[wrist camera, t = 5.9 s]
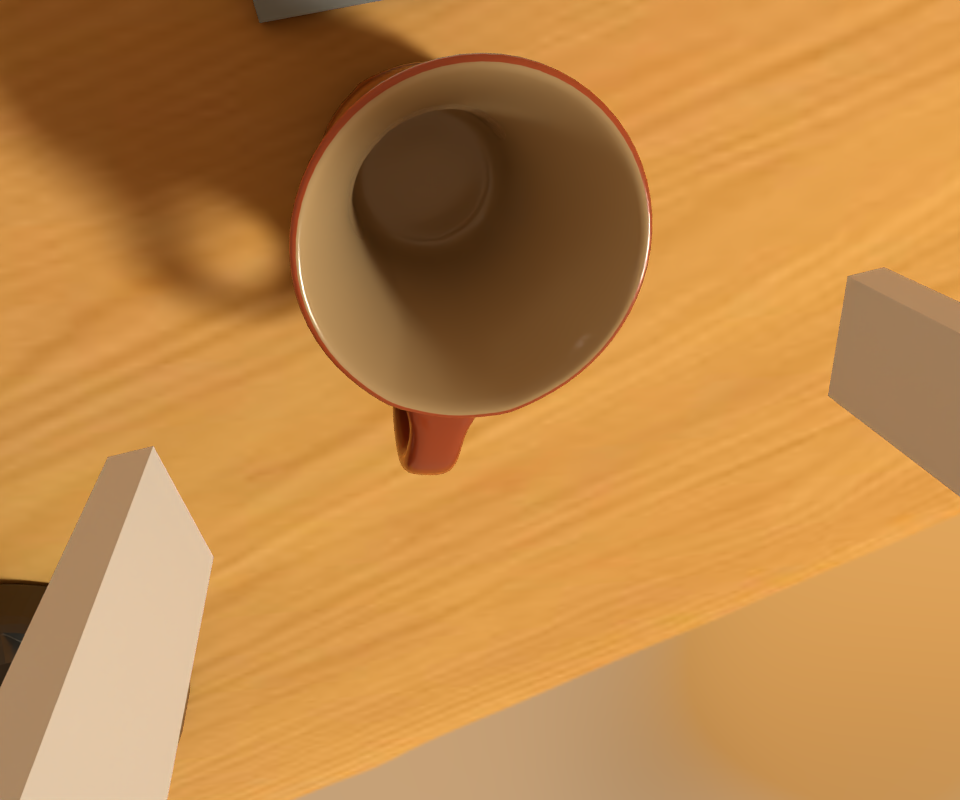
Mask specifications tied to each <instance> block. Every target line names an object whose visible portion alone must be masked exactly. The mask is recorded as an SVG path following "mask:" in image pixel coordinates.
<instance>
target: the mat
mask: <svg viewBox="0 0 960 800" xmlns="http://www.w3.org/2000/svg"><path fill="white" fill-rule="evenodd" d="M375 1H381V0H253V2H254V6H255V9H256V13H257V16H258V19H259V23H263V22H268V21H273V20H279V19H284V18H289V17H295V16H300V15H306V14H311V13H316V12H322V11H327V10H332V9H338V8H343V7H348V6H354V5H359V4H365V3H370V2H375Z"/></svg>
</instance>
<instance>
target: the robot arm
mask: <svg viewBox="0 0 960 800" xmlns="http://www.w3.org/2000/svg"><path fill="white" fill-rule="evenodd" d="M828 396H829V397H830V398H832V399H833V400H834V401H836V402H837V403H838V404H839V405H841V406H842V407H843V408H845V409H846V410H847V411H849V412H850V413H851V414H853V415H854V416H855V417H856V418H858V419H859V420H860V421H862V422H863V423H864V424H866V425H867V426H868V427H870V428H871V429H872V430H873V431H875V432H876V433H877V434H879V435H880V436H881V437H883V438H884V439H885V440H887V441H888V442H889V443H890V444H892V445H893V446H894V447H896V448H897V449H898V450H900V451H901V452H902V453H904V454H905V455H906V456H907V457H909V458H910V459H911V460H913V461H914V462H915V463H917V464H918V465H919V466H921V467H922V468H923V469H924V470H926V471H927V472H928V473H930V474H931V475H932V476H934V477H935V478H936V479H938V480H939V481H940V482H941V483H943V484H944V485H945V486H947V487H948V488H949V489H951V490H952V491H953V492H954V493H956V494H957V495H958V496H960V302H958V301H956V300H954V299H952V298H949V297H947V296H945V295H943V294H941V293H939V292H936V291H934V290H932V289H930V288H928V287H926V286H923V285H921V284H919V283H917V282H915V281H913V280H910V279H908V278H906V277H904V276H902V275H900V274H897V273H895V272H893V271H891V270H889V269H887V268H884V267H883V268H879V269H875V270H871V271H867V272H863V273H859V274H855V275H851V276H848V278H847V284H846V290H845V296H844V302H843V308H842V314H841V320H840V326H839V332H838V338H837V344H836V351H835V357H834V363H833V369H832V375H831V381H830V387H829V393H828ZM212 563H213V555H212V553H211V552H210V550H209V548H208V546H207V544H206V542H205V540H204V539H203V537H202V535H201V533H200V531H199V529H198V528H197V526H196V524H195V522H194V520H193V518H192V517H191V515H190V513H189V511H188V509H187V507H186V505H185V504H184V502H183V500H182V498H181V496H180V494H179V493H178V491H177V489H176V487H175V485H174V483H173V481H172V480H171V478H170V476H169V474H168V472H167V470H166V469H165V467H164V465H163V463H162V461H161V459H160V457H159V456H158V454H157V452H156V450H155V448H154V446H151V447H147V448H143V449H139V450H135V451H131V452H127V453H123V454H119V455H115V456H111V457H108V458H107V460H106V463H105V465H104V467H103V469H102V471H101V473H100V475H99V477H98V480H97V482H96V484H95V486H94V488H93V490H92V492H91V495H90V497H89V499H88V501H87V503H86V505H85V507H84V510H83V512H82V514H81V516H80V518H79V520H78V522H77V524H76V527H75V529H74V531H73V533H72V535H71V537H70V539H69V542H68V544H67V546H66V548H65V550H64V552H63V554H62V557H61V559H60V561H59V563H58V565H57V567H56V569H55V571H54V574H53V576H52V578H51V580H50V582H49V584H48V586H37V585H23V584H0V800H167V797H168V792H169V787H170V782H171V777H172V771H173V766H174V761H175V756H176V750H177V745H178V743H179V740H180V737H181V734H182V731H183V726H184V720H185V715H186V709H187V704H188V698H189V693H190V677H191V672H192V667H193V662H194V656H195V651H196V646H197V641H198V636H199V630H200V625H201V620H202V615H203V610H204V604H205V599H206V594H207V589H208V583H209V578H210V573H211V568H212Z"/></svg>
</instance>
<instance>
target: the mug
mask: <svg viewBox="0 0 960 800" xmlns="http://www.w3.org/2000/svg"><path fill="white" fill-rule="evenodd" d="M651 240H652V208H651V198H650V193H649V187H648V182H647V179H646V175H645V172H644V169H643V165H642V163H641V160H640V158H639V155H638V153H637V151H636V148H635V146H634V145H633V143H632V141H631V139H630V137H629V135H628V134H627V132H626V131H625V129H624V128H623V126H622V125H621V123H620V122H619V121H618V119H617V118H616V116H615V115H614V114H613V113H612V112H611V111H610V110H609V109H608V107H607V106H606V105H605V104H604V103H603V102H602V101H601V100H600V99H599V98H598V97H597V96H595V95H594V94H593V93H592V92H591V91H590V90H589V89H587V88H586V87H584V86H583V85H582V84H580V83H579V82H577V81H576V80H575V79H573V78H571V77H569V76H568V75H566V74H564V73H562V72H560V71H559V70H556V69H554V68H552V67H549V66H547V65H544V64H542V63H539V62H536V61H532V60H529V59H525V58H522V57H517V56H511V55H504V54H492V53H472V54H459V55H453V56H448V57H442V58H438V59H434V60H431V61H425V62H413V63H407V64H402V65H399V66H396V67H392V68H390V69H387V70H385V71H382V72H380V73H378V74H376V75H374V76H372V77H370V78H368V79H366V80H364V81H363V82H361V83H360V84H359V85H358V86H357V87H356V88H355V90H354V91H353V92H352V93H351V94H350V95H349V96H348V97H347V98H346V99H345V100H344V101H343V103H342V104H341V105H340V107H339V108H338V109H337V111H336V112H335V114H334V116H333V117H332V119H331V121H330V123H329V125H328V127H327V129H326V131H325V134H324V137H323V140H322V141H321V142H320V144H319V146H318V147H317V149H316V151H315V153H314V154H313V156H312V158H311V159H310V161H309V164H308V166H307V168H306V170H305V173H304V175H303V177H302V179H301V183H300V186H299V189H298V192H297V195H296V198H295V202H294V207H293V212H292V216H291V224H290V233H289V259H290V269H291V276H292V281H293V286H294V291H295V294H296V297H297V301H298V304H299V307H300V310H301V312H302V314H303V316H304V319H305V321H306V323H307V325H308V327H309V329H310V331H311V332H312V334H313V336H314V338H315V339H316V341H317V343H318V344H319V345H320V347H321V348H322V350H323V351H324V352H325V354H326V355H327V356H328V357H329V358H330V360H331V361H332V362H333V363H334V364H335V365H336V366H337V367H338V368H339V369H340V370H341V371H342V372H343V373H344V374H345V375H346V376H347V377H348V378H349V379H351V380H352V381H353V382H354V383H356V384H357V385H358V386H359V387H361V388H362V389H364V390H365V391H366V392H368V393H369V394H371V395H372V396H374V397H375V398H377V399H379V400H380V401H382V402H384V403H386V404H388V405H390V406H393V420H394V431H395V439H396V446H397V452H398V456H399V461H400V463H401V465H402V467H403V468H404V469H405V470H406V471H408V472H409V473H413V474H419V475H439V474H443V473H446V472H448V471H450V470H451V469H452V468H453V466H454V465H455V464H456V462H457V459H458V457H459V454H460V451H461V447H462V444H463V441H464V438H465V435H466V433H467V430H468V429H469V427H470V425H471V423H472V422H473V420H474V418H475V417H484V416H493V415H500V414H504V413H508V412H512V411H515V410H517V409H520V408H522V407H524V406H527V405H529V404H531V403H533V402H535V401H537V400H539V399H541V398H543V397H545V396H547V395H548V394H550V393H552V392H554V391H555V390H557V389H559V388H560V387H562V386H563V385H565V384H566V383H568V382H569V381H570V380H572V379H573V378H575V377H576V376H577V375H579V374H580V373H581V372H582V371H583V370H584V369H585V368H587V367H588V366H589V365H590V364H591V363H592V362H593V361H594V360H595V359H596V358H597V357H598V356H599V355H600V354H601V353H602V352H603V351H604V349H605V348H606V347H607V346H608V345H609V343H610V342H611V341H612V340H613V338H614V337H615V335H616V334H617V333H618V331H619V330H620V328H621V327H622V325H623V323H624V322H625V320H626V318H627V317H628V315H629V313H630V311H631V309H632V307H633V305H634V303H635V301H636V299H637V296H638V294H639V291H640V288H641V286H642V283H643V280H644V276H645V273H646V269H647V266H648V260H649V255H650V250H651Z"/></svg>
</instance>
